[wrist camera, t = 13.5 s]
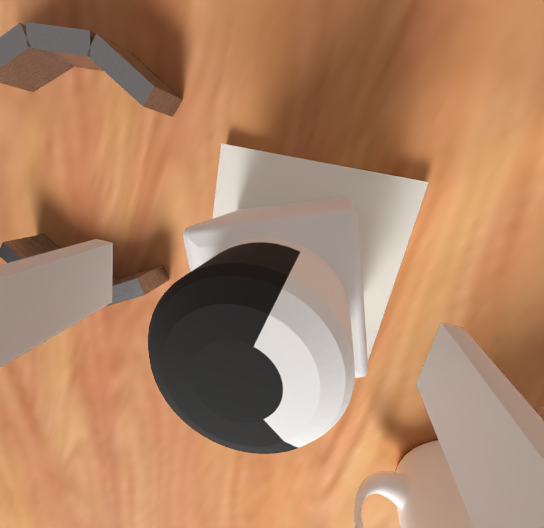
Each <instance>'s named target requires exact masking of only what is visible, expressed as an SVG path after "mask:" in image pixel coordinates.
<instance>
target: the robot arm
mask: <svg viewBox="0 0 544 528" xmlns="http://www.w3.org/2000/svg"><path fill="white" fill-rule="evenodd" d="M112 276H113V243H112V242H108V241H103V240H99V239H94V240H90V241H86V242H83V243H79V244H75V245H72V246H68V247H64V248H61V249H57V250H54V251H50V252H46V253H43V254H39V255H35V256H32V257H28V258H24V259H21V260H17V261H14V262H10V263H6V264H3V265H0V367H2V366H4V365H5V364H7V363H9V362H11V361H12V360H14V359H16V358H17V357H19V356H21V355H23V354H24V353H26V352H28V351H29V350H31V349H33V348H35V347H36V346H38V345H40V344H41V343H43V342H45V341H47V340H48V339H50V338H52V337H53V336H55V335H57V334H59V333H60V332H62V331H64V330H65V329H67V328H69V327H71V326H72V325H74V324H76V323H77V322H79V321H81V320H82V319H84V318H86V317H88V316H89V315H91V314H93V313H94V312H96V311H98V310H100V309H101V308H103V307H105V306H106V305H108V304H110V303H112ZM416 386H417V388H418V391H419V393H420V396H421V398H422V400H423V403H424V405H425V408H426V410H427V413H428V415H429V418H430V420H431V423H432V425H433V428H434V430H435V433H436V435H437V438H438V440H439V443H440V445H441V448H442V450H443V452H444V455H445V457H446V460H447V462H448V465H449V467H450V470H451V472H452V475H453V477H454V480H455V482H456V485H457V487H458V490H459V492H460V495H461V497H462V500H463V502H464V504H465V507H466V509H467V512H468V514H469V517H470V519H471V522H472V524H473V527H474V528H544V421H543V419H542V418H541V417H540V416H539V415H538V414H537V412H536V411H535V410H534V409H533V408H532V407H531V405H530V404H529V403H528V402H527V401H526V400H525V399H524V397H523V396H522V395H521V394H520V393H519V392H518V390H517V389H516V388H515V387H514V386H513V385H512V383H511V382H510V381H509V380H508V379H507V378H506V376H505V375H504V374H503V373H502V372H501V371H500V370H499V368H498V367H497V366H496V365H495V364H494V363H493V361H492V360H491V359H490V358H489V357H488V356H487V354H486V353H485V352H484V351H483V350H482V349H481V347H480V346H479V345H478V344H477V343H476V342H475V341H474V339H473V338H472V337H471V336H470V335H469V334H468V332H467V331H466V330H465V329H464V328H462V327H458V326H454V325H450V324H445V323H441V325H440V327H439V329H438V332H437V334H436V337H435V339H434V342H433V344H432V346H431V349H430V351H429V354H428V356H427V358H426V361H425V363H424V366H423V368H422V371H421V373H420V375H419V378H418V380H417V383H416Z"/></svg>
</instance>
